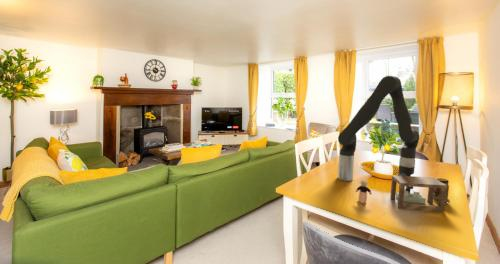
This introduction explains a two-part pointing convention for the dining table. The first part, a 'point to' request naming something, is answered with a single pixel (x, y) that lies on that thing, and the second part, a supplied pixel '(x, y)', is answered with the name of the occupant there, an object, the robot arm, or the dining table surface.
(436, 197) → the condiment
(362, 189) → the grandmother figurine
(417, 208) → the brown wooden side table
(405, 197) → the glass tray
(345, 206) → the dining table surface
